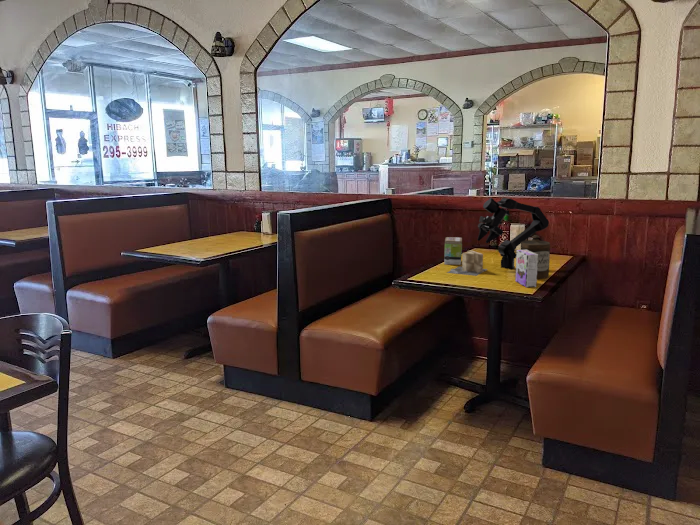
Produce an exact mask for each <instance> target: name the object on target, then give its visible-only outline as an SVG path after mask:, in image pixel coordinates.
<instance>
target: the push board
mask: <svg viewBox="0 0 700 525" xmlns="http://www.w3.org/2000/svg"><path fill="white" fill-rule="evenodd" d="M486 271H488V268H483V272H475V271H469V272H467V271H463V270H462V266H457V267H455V268H450V270H449V271H447V272H446V274H455V275H466V276H475V277H477V276H479V275H481V274H482V273H484V272H486Z"/></svg>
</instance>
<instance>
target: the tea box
mask: <svg viewBox="0 0 700 525" xmlns="http://www.w3.org/2000/svg"><path fill="white" fill-rule="evenodd" d="M462 251H463V237H458V236H457V237H456V236H455V237H453V236H452V237H451V236H449V237H448V236H447V237H445V239H444V259H443V260H444V263H443V264H444V265H453V266H454V265H455V266H457V265H458V266H459V265H460V266H462V257H463V252H462Z"/></svg>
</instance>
